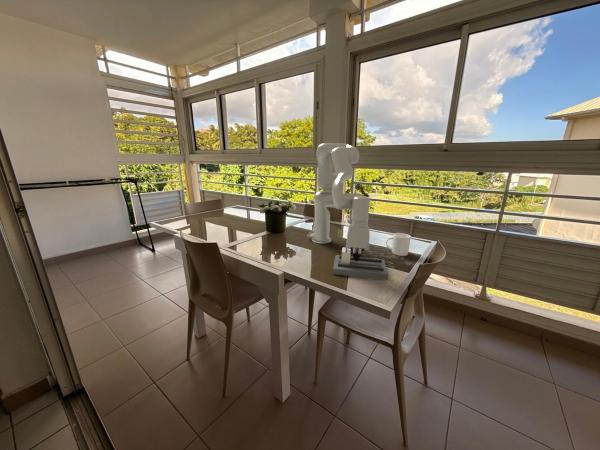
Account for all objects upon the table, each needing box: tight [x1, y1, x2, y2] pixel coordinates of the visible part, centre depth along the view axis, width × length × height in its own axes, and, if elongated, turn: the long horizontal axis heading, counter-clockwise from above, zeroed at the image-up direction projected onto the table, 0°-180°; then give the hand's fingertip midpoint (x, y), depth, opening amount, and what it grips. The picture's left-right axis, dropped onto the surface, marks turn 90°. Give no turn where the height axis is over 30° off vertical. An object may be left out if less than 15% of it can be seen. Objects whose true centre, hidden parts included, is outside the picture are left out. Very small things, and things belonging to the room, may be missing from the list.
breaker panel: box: [332, 254, 389, 281], centre depth 115 cm, size 24×16×4 cm, turn 78°
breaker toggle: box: [341, 246, 352, 264], centre depth 115 cm, size 4×6×6 cm, turn 168°
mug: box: [386, 232, 411, 257], centre depth 134 cm, size 9×12×11 cm
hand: (356, 260), depth 115 cm, fingers closed
